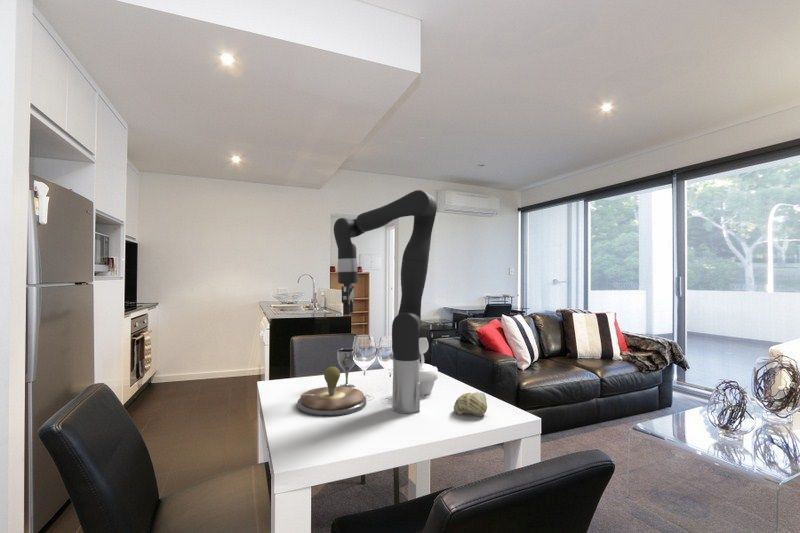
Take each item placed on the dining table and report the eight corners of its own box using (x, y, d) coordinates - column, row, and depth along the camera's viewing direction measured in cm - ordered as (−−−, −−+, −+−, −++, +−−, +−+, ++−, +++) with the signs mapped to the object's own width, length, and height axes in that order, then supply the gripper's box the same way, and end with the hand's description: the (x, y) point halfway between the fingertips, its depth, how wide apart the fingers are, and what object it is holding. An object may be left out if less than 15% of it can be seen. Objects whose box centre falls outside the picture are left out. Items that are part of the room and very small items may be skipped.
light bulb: (340, 392, 138) (341, 364, 138) (338, 397, 132) (339, 368, 133) (325, 392, 138) (325, 364, 138) (322, 397, 132) (323, 368, 132)
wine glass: (335, 384, 159) (336, 348, 160) (354, 383, 162) (354, 347, 162) (338, 390, 152) (338, 352, 152) (358, 388, 154) (358, 351, 155)
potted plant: (436, 398, 143) (437, 331, 143) (405, 396, 145) (406, 330, 145) (438, 388, 155) (439, 327, 156) (410, 387, 157) (410, 326, 158)
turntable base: (368, 394, 147) (368, 390, 147) (362, 416, 123) (362, 412, 123) (306, 393, 147) (306, 389, 147) (288, 416, 123) (288, 411, 123)
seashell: (446, 409, 129) (456, 381, 131) (467, 419, 132) (477, 391, 135) (464, 418, 120) (475, 387, 122) (486, 428, 123) (496, 398, 126)
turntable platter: (366, 390, 146) (366, 386, 146) (360, 410, 124) (360, 405, 124) (308, 390, 146) (308, 385, 146) (292, 409, 124) (292, 404, 124)
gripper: (354, 270, 138) (355, 315, 137) (359, 271, 152) (360, 312, 151) (334, 270, 138) (334, 315, 137) (341, 271, 152) (342, 312, 151)
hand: (348, 313), depth 144 cm, fingers open, 8 cm apart
